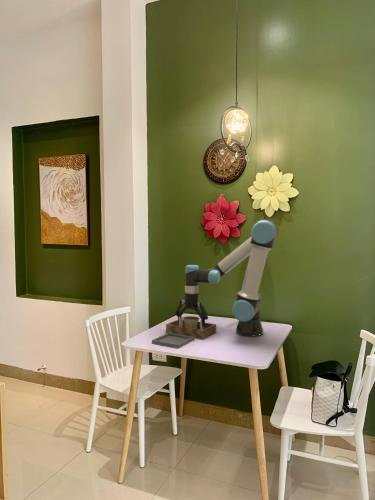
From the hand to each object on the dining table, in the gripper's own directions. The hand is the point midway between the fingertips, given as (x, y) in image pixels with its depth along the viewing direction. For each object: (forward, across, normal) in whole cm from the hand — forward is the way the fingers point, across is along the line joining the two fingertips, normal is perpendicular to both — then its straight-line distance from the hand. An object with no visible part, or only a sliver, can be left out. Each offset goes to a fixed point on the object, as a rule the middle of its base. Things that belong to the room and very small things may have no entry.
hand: (191, 330), depth 219 cm
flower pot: (+2, 0, 0) cm, 2 cm away
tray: (+2, 0, +19) cm, 19 cm away
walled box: (+2, 0, 0) cm, 2 cm away
